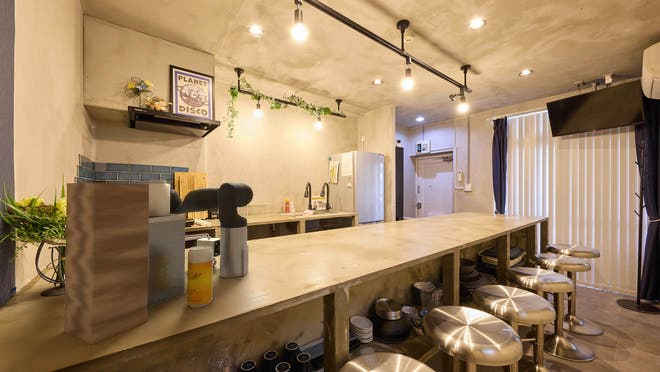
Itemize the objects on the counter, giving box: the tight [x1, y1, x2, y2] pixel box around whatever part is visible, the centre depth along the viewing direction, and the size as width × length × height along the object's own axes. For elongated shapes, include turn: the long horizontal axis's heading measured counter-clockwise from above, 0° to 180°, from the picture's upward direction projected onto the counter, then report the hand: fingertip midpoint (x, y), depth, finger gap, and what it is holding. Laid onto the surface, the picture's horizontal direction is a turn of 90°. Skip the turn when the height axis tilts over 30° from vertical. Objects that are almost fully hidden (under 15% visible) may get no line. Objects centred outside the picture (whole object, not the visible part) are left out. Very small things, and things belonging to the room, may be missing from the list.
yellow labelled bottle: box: [186, 246, 214, 309], centre depth 68 cm, size 6×6×15 cm
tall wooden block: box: [63, 182, 150, 346], centre depth 57 cm, size 12×10×32 cm
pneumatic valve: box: [192, 235, 220, 267], centre depth 101 cm, size 6×12×12 cm, turn 78°
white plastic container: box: [145, 179, 171, 217], centre depth 75 cm, size 18×6×10 cm, turn 65°
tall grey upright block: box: [147, 214, 186, 309], centre depth 72 cm, size 10×10×23 cm
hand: (140, 203), depth 76 cm, fingers closed on white plastic container, 3 cm apart
